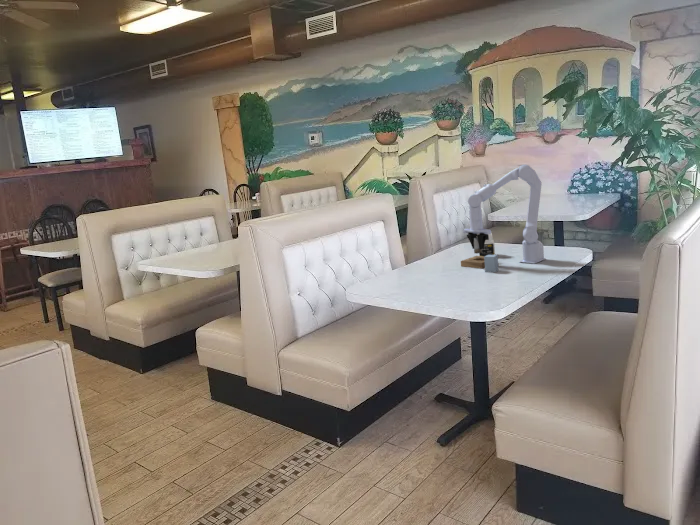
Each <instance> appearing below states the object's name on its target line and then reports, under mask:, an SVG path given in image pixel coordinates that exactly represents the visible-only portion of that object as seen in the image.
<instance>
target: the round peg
mask: <svg viewBox="0 0 700 525" xmlns="http://www.w3.org/2000/svg"><path fill="white" fill-rule="evenodd" d="M473 242H474V249H473V253H474V254H479V253H482V249H480V248H479V241H478V238H477V237H475V238H473Z"/></svg>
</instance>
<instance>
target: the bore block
mask: <svg viewBox="0 0 700 525" xmlns="http://www.w3.org/2000/svg"><path fill="white" fill-rule="evenodd" d="M484 257H485V256H479V255H474V256H472V257H469V258H465V259H462V260H460V266H461V267H464V268H473V269H485V261H484Z"/></svg>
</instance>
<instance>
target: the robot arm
mask: <svg viewBox="0 0 700 525" xmlns="http://www.w3.org/2000/svg"><path fill="white" fill-rule="evenodd" d="M519 178H520V179H521V180H522V181H524V182H526V184H528V186H529V187H530V188H529V196H528V204H527V215H526V222H525V227H524V228H523V230H522V237H523V240H522V243H521V244H522V257H523V259H522V260H519V263H523V264H524V263H525V264H538V263H539V262H542V261H545V260H546V257H544V256H545V253H544V252H545V251H544V244H543V243H542V241H540V240H539V234H538V232H537V231H538V217H539V210H540V209H539V208H540V202H541V201H540V200H541V194H542V192H541V191H542V186H543V185H542V180H541V179H540V178H539V176H538V174H537V172H536V171H535V169H533V168H532V167H531V166H530V165H529V164H521V165H519V167H516V168H514V169H512V170H510V171H509V172H507V173H506V174H505V175H503V176H502V177H501V178H499V179H497V180H496V181H495V182H494V183H487V184H486V183H484V184H483V187H481V188H480V189H478V190H476V191H474V193H473V194H470V195H469V197H468V200H467V203H468V209H469V210H468V212H469V213H468V215H469V228H464V229H463V230H462V233H463V234H466V238H468V240H469V242H470V245H471V248H472V249H473V250H474V242H473V238H475V237H477V238H478V241H479V248H480V249H484V244H485V240H486V238H487V236H488V234H491V233H492V229H487V228H484V226H483V225H484V224H483V211H482V206H481V204H482V203H483V202H485V201H488V200H489V199H490V198H492V197H493V196H495V195H496V192H497V191H498V190H499V189H500V188H501V187H503V186H505V185H506V184H509V183H510V182H511V181H519Z"/></svg>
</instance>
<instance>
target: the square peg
mask: <svg viewBox="0 0 700 525" xmlns="http://www.w3.org/2000/svg"><path fill="white" fill-rule="evenodd" d="M484 261H485V268H484V271H485V272H484V273H496V272H498V271H499V258H498V254H495V255H486V256H485V257H484Z"/></svg>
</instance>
